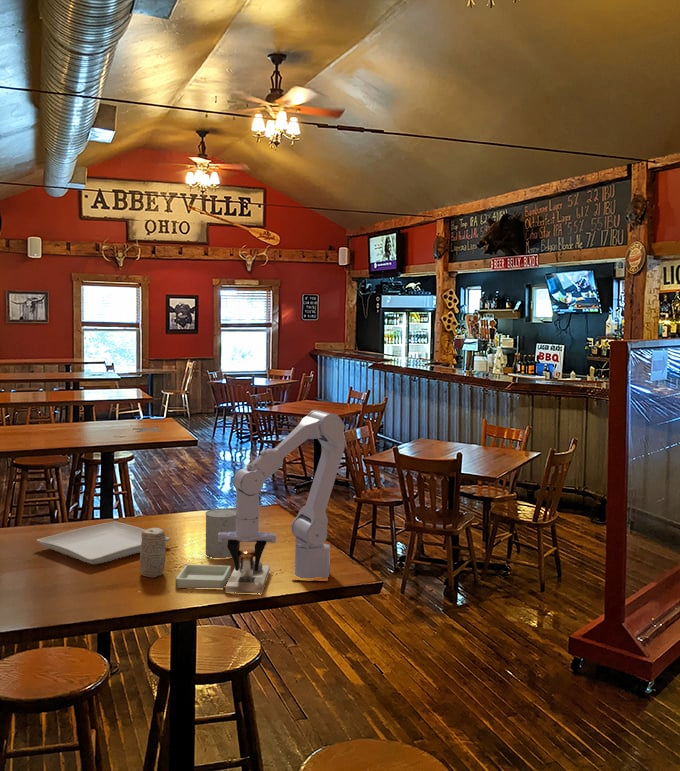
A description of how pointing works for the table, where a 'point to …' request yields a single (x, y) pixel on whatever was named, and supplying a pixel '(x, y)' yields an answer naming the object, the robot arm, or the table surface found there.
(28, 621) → the table surface
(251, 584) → the white holder block
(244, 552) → the pin
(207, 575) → the tray
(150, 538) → the carving
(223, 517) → the grey cylinder
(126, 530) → the square plate
